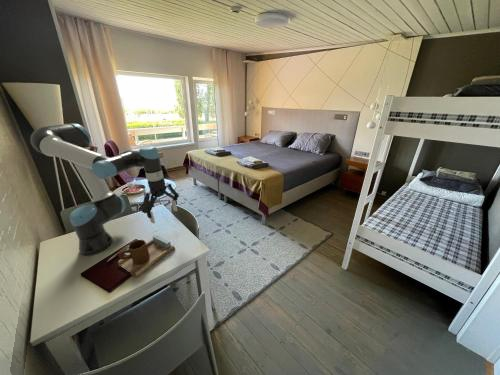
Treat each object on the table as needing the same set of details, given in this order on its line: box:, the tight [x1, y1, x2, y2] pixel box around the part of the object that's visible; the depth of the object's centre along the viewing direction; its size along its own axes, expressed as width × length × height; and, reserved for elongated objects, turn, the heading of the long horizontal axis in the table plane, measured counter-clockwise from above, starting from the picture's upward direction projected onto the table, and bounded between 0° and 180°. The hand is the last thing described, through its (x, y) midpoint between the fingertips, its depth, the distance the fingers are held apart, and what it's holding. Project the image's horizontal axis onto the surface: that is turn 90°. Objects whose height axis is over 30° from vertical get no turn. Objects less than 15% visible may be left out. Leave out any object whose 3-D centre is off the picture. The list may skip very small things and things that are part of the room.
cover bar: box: [152, 234, 172, 249], centre depth 111 cm, size 12×2×4 cm, turn 59°
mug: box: [118, 239, 150, 265], centre depth 99 cm, size 12×8×9 cm, turn 128°
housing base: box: [117, 238, 176, 279], centre depth 104 cm, size 15×22×3 cm
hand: (164, 216), depth 108 cm, fingers open, 13 cm apart
